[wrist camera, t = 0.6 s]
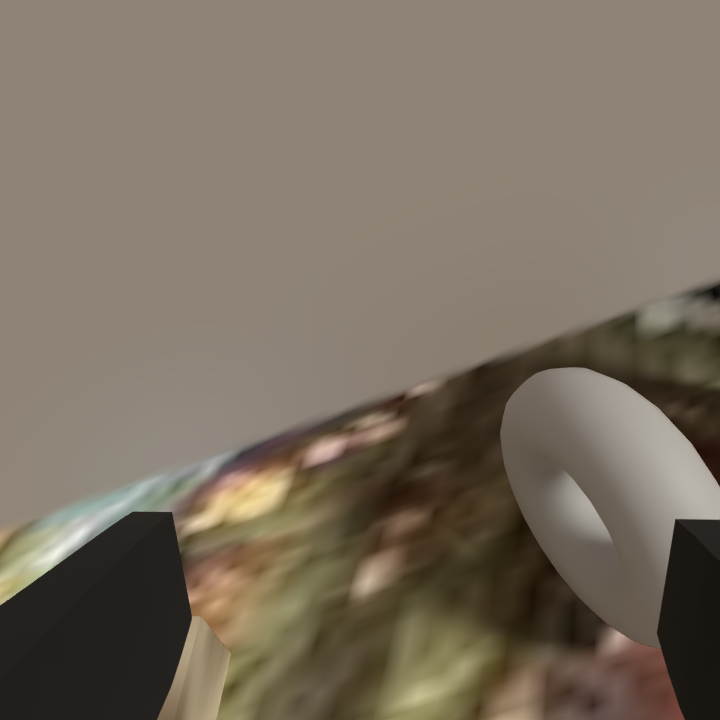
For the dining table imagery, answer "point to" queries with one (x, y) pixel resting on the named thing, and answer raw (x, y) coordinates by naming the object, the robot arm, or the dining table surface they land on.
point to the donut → (603, 489)
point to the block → (198, 676)
